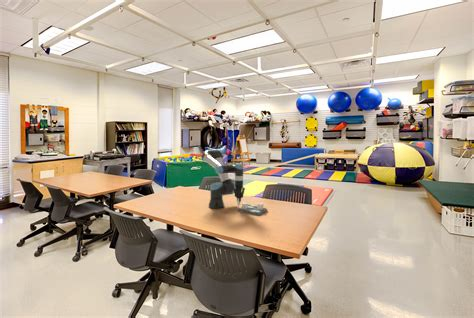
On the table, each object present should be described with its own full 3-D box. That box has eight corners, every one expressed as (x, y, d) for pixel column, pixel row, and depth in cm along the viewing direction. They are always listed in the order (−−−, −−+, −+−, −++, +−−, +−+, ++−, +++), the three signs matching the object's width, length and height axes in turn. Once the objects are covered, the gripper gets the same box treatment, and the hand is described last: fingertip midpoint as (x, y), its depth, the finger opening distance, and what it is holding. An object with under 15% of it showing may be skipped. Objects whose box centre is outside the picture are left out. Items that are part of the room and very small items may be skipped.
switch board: (237, 211, 226) (237, 208, 225) (247, 207, 239) (247, 204, 238) (258, 215, 213) (258, 212, 213) (267, 211, 226) (267, 208, 225)
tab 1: (242, 208, 226) (242, 203, 225) (244, 207, 229) (244, 202, 228) (245, 209, 223) (245, 204, 223) (248, 208, 226) (248, 203, 226)
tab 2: (257, 209, 224) (257, 203, 224) (259, 208, 228) (259, 202, 227) (261, 210, 222) (261, 204, 222) (263, 209, 225) (263, 203, 225)
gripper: (231, 179, 228) (230, 204, 231) (242, 181, 221) (242, 206, 223) (235, 178, 235) (235, 202, 237) (247, 180, 227) (246, 205, 229)
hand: (238, 204), depth 230 cm, fingers closed
